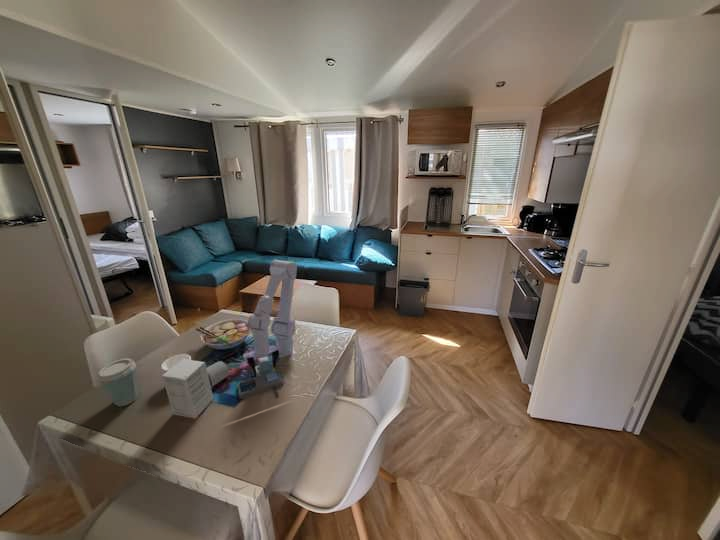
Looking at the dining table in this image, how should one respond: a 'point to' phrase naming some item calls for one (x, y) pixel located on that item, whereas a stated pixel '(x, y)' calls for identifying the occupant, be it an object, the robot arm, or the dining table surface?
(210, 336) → the ramen bowl
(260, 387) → the grey busybox board
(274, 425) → the dining table surface
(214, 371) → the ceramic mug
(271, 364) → the tray
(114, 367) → the disposable coffee cup
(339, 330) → the dining table surface
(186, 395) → the supplement box
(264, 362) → the plug
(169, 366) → the cup
